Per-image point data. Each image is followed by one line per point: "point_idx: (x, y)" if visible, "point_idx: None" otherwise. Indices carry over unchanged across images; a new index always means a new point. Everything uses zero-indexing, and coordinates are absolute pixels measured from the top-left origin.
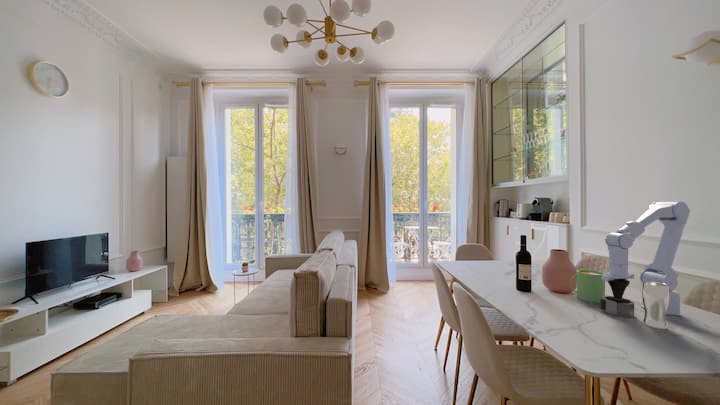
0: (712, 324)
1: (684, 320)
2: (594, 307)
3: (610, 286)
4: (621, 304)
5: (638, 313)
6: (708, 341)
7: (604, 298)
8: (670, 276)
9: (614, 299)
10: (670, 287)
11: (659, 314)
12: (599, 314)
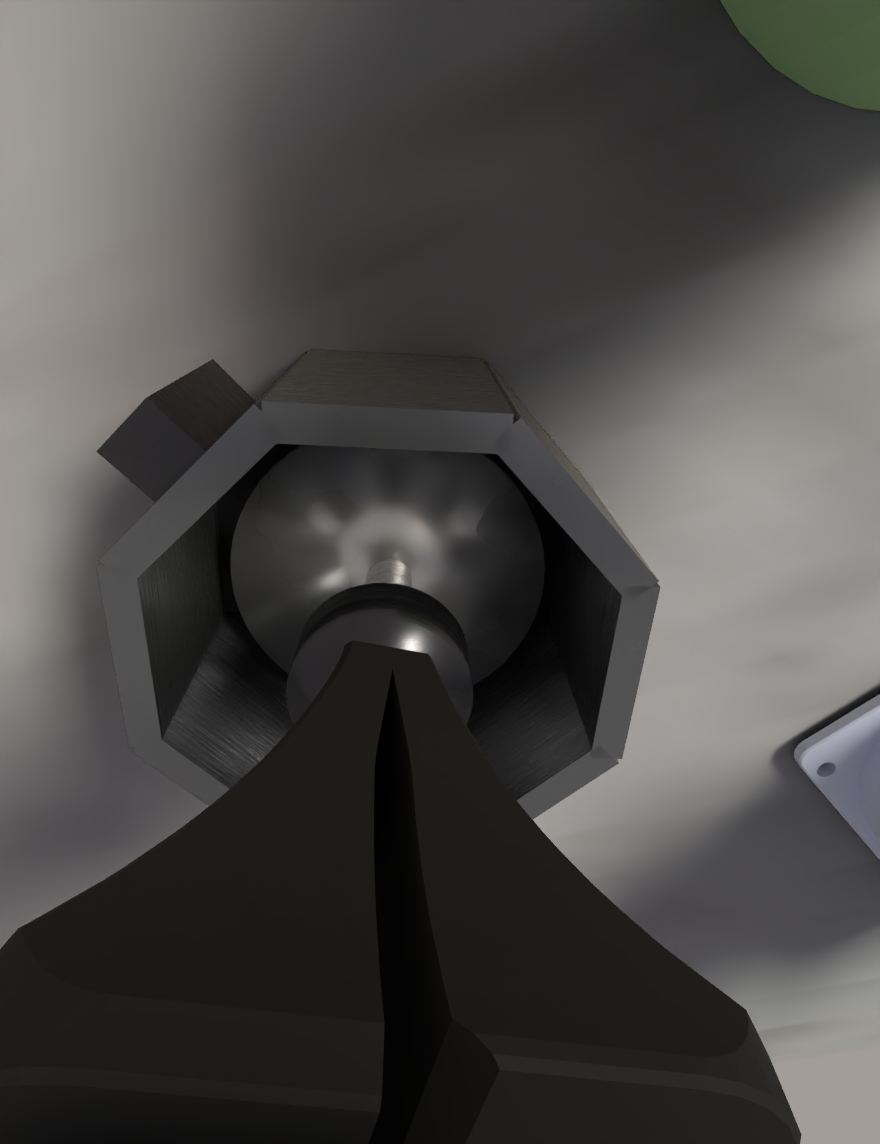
0: (843, 1048)
1: (781, 947)
2: (331, 192)
3: (225, 796)
4: (196, 775)
5: (644, 683)
6: None
7: (198, 486)
8: None
9: (295, 653)
10: None
11: None
12: (30, 439)
